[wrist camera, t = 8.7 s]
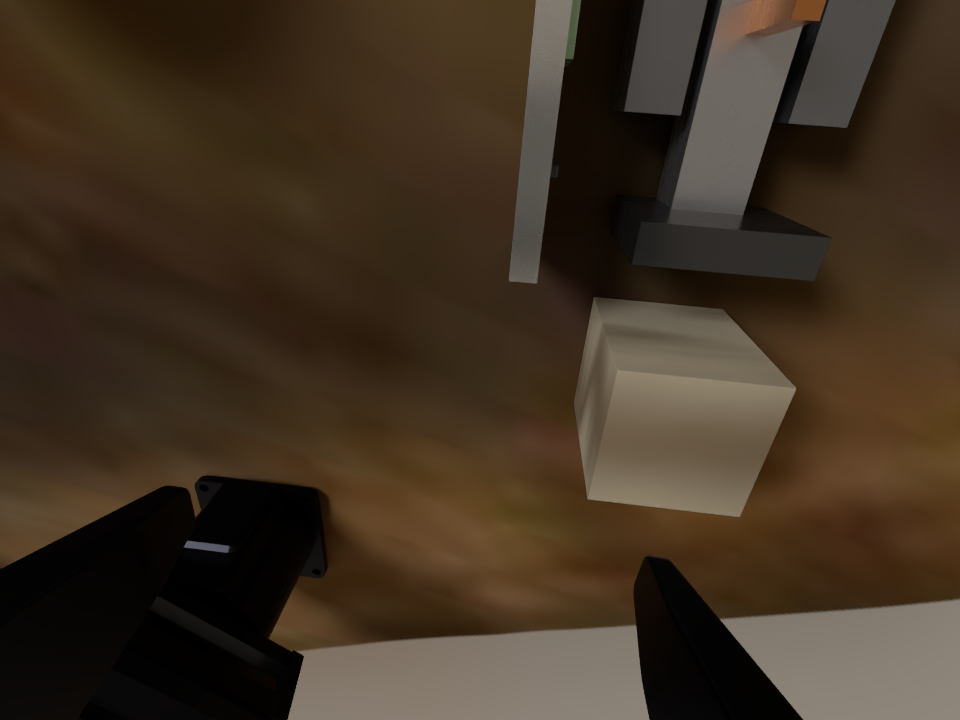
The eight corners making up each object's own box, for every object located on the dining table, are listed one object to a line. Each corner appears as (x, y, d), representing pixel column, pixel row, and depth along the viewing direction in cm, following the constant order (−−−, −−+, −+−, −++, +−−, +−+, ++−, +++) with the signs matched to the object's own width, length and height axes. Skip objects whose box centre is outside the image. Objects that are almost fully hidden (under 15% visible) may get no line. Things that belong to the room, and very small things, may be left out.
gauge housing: (757, 260, 18) (831, 311, 13) (514, 238, 18) (508, 281, 14) (939, -267, 12) (1186, -491, 7) (565, -279, 12) (584, -497, 8)
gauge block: (687, 414, 21) (739, 516, 16) (573, 402, 21) (587, 499, 16) (722, 308, 19) (796, 388, 14) (594, 296, 19) (617, 370, 14)
